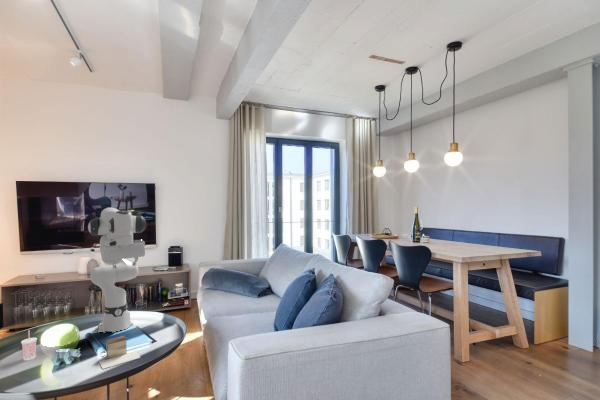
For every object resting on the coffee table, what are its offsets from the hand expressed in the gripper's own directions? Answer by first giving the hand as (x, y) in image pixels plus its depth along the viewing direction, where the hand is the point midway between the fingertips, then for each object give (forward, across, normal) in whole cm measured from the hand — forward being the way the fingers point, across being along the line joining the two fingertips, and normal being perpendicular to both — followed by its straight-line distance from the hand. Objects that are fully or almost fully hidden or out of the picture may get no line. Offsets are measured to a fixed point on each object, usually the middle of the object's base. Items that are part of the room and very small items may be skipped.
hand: (124, 267), depth 175 cm
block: (+42, +6, +9) cm, 43 cm away
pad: (+42, +6, +16) cm, 45 cm away
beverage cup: (+42, +39, -18) cm, 60 cm away
